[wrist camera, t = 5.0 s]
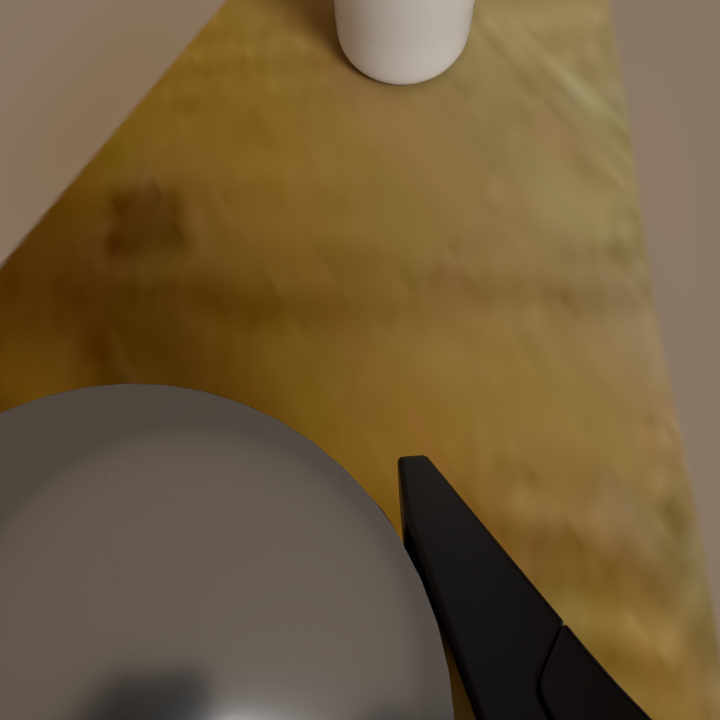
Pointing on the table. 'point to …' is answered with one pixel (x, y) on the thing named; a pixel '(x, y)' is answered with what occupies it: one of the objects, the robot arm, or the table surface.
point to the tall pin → (199, 570)
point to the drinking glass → (403, 36)
